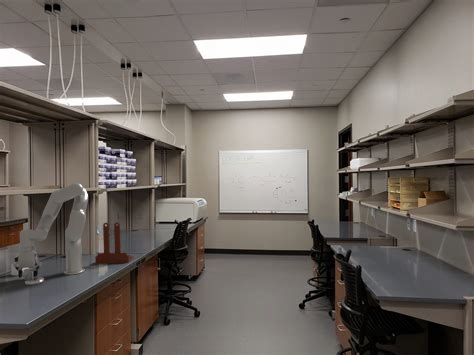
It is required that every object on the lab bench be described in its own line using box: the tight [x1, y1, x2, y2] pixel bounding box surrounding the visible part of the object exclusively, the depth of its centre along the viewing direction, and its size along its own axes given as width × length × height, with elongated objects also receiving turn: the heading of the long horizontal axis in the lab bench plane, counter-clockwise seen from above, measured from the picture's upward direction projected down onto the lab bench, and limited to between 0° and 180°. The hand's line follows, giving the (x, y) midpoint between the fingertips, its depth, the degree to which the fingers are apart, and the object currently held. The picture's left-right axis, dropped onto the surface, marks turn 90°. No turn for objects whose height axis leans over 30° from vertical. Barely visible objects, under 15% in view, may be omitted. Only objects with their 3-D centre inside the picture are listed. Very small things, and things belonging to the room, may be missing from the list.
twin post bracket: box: [94, 221, 135, 265], centre depth 252 cm, size 24×13×30 cm, turn 92°
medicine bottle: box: [10, 255, 30, 276], centre depth 224 cm, size 7×7×12 cm
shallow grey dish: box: [24, 276, 45, 286], centre depth 204 cm, size 10×10×2 cm
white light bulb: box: [22, 268, 34, 281], centre depth 211 cm, size 6×5×6 cm
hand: (28, 276), depth 211 cm, fingers open, 8 cm apart
